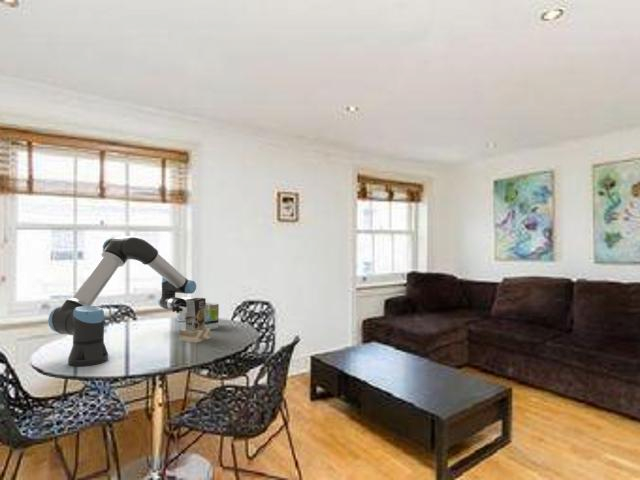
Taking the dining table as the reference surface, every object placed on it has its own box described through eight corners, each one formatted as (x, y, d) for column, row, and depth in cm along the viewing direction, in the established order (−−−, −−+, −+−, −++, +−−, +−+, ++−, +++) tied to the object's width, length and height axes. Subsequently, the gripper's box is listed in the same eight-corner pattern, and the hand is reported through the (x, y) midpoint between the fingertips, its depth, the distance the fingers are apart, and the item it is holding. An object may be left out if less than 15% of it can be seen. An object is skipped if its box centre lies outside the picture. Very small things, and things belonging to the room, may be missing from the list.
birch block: (196, 343, 209) (196, 331, 209) (179, 341, 214) (180, 329, 214) (210, 338, 219) (210, 327, 219) (194, 336, 224) (194, 325, 224)
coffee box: (195, 331, 211) (196, 300, 211) (185, 330, 213) (185, 299, 213) (205, 327, 220) (206, 298, 220) (195, 326, 221) (195, 297, 221)
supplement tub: (192, 318, 271) (193, 297, 271) (191, 321, 262) (191, 299, 262) (177, 319, 269) (178, 297, 269) (175, 322, 260) (176, 299, 260)
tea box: (219, 328, 244) (219, 303, 244) (204, 330, 236) (204, 305, 236) (205, 324, 254) (205, 301, 254) (190, 327, 246) (191, 302, 246)
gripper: (196, 308, 238) (217, 312, 224) (155, 313, 219) (176, 319, 205) (196, 295, 238) (217, 299, 224) (156, 300, 219) (176, 304, 205)
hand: (197, 308), depth 215 cm, fingers open, 13 cm apart
